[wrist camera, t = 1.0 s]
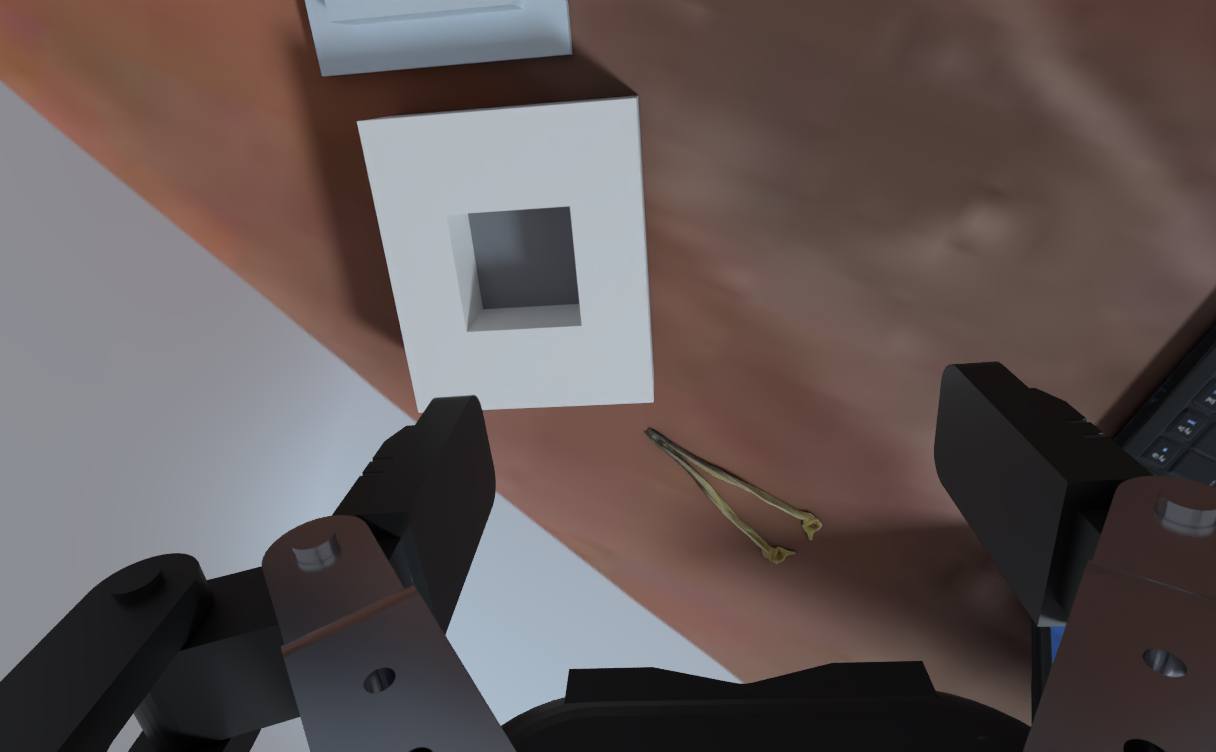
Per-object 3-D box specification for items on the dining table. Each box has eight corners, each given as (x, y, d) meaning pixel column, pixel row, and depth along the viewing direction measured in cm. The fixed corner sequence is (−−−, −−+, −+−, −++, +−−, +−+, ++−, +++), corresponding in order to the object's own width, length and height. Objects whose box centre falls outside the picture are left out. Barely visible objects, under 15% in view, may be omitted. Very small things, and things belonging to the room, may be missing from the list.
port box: (391, 115, 34) (349, 121, 29) (638, 94, 33) (636, 97, 28) (440, 373, 39) (412, 412, 35) (653, 363, 38) (653, 402, 34)
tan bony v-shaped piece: (656, 408, 40) (657, 424, 38) (823, 511, 43) (832, 531, 41) (616, 457, 42) (616, 476, 40) (780, 554, 45) (787, 575, 43)
